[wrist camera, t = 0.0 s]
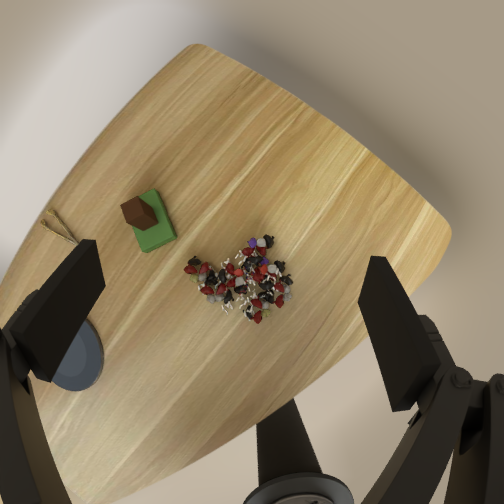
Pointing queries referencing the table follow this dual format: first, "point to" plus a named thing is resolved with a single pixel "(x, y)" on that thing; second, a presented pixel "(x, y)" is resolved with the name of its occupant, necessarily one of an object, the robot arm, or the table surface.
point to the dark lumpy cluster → (258, 273)
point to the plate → (81, 361)
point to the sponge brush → (149, 220)
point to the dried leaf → (61, 225)
